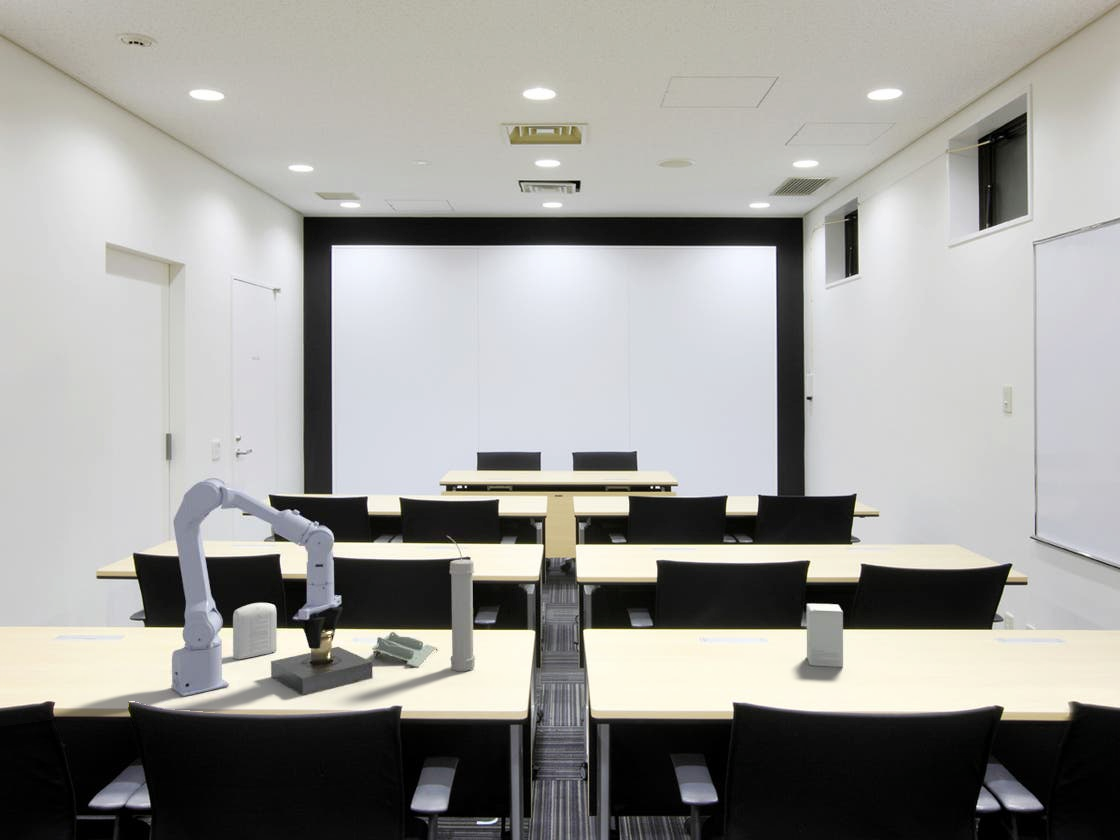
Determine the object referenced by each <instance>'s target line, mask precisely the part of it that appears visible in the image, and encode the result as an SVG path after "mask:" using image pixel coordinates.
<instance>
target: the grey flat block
mask: <svg viewBox="0 0 1120 840" xmlns="http://www.w3.org/2000/svg"><path fill="white" fill-rule="evenodd" d="M270 677H271V678H272V677H273V678H272V679H274V680H275V679H276V681H277V682H279V683H281V684H282V685H285V687H287V688H288V689H291V690H293V691H294V692H297V693H298V694H300V695H301V696H306V695H310V694H314V693H317V692H322V691H326V690H330V689H334V688H338V687H342V686H345V685H349V684H353V683H359V682H361V681H366V680H369V679H373V678H374V677H373V661H371V660H369V659H367V658H365V657H362V656H361V655H357V654H356V653H353V652H351V651H349V650H347V649H344V648H342V647H340V646H335V647H332V662H331V663H329V664H325V665H312V664H311V652H308V653H307V652H306V653H304V654H298V655H293V656H289V657H284V658H280V659H279V658H278V659H275V660H271V661H270Z"/></svg>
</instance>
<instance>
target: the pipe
mask: <svg viewBox="0 0 1120 840" xmlns="http://www.w3.org/2000/svg"><path fill="white" fill-rule="evenodd" d="M446 537H447V538H449V539H450V540H451V541H452V542H453V543H454V544H455V545H456V547H457V549H458V551H459V554H460V559H454V560H452V561H450V563H449V565H450V566H449V574H450V576H451V649H452V655H451V656H450V665H451V666H450V668H451V670H452V669H453V670H452V671H455V670H456V671H455V672H468V670H469V671H472V670H473V668H474V669H475V663H476V662H475V660H476V655H475V654H474V616H473V615H474V607H473V605H474V604H473V601H474V599H473V597H474V596H473V574H474V573H475V569H474V568H475V566H474V561H473V560H472V559H463V555H462V553H461V552H462V551H461V550H460V547H459V546H458V544H457V542H456V541H455V540H454V539H452V538H451V536H449V535H446ZM471 669H472V670H471Z"/></svg>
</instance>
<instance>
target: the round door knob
mask: <svg viewBox="0 0 1120 840" xmlns="http://www.w3.org/2000/svg"><path fill="white" fill-rule="evenodd" d="M332 635H333V629H329V628H322V631H321V640H320V646H319V648H318V649H312V648H310V653H311V664H312V665H325V664H329V663H331V662H332V648H333V646H332V644H333V643H332V642H333V641H332Z"/></svg>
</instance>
